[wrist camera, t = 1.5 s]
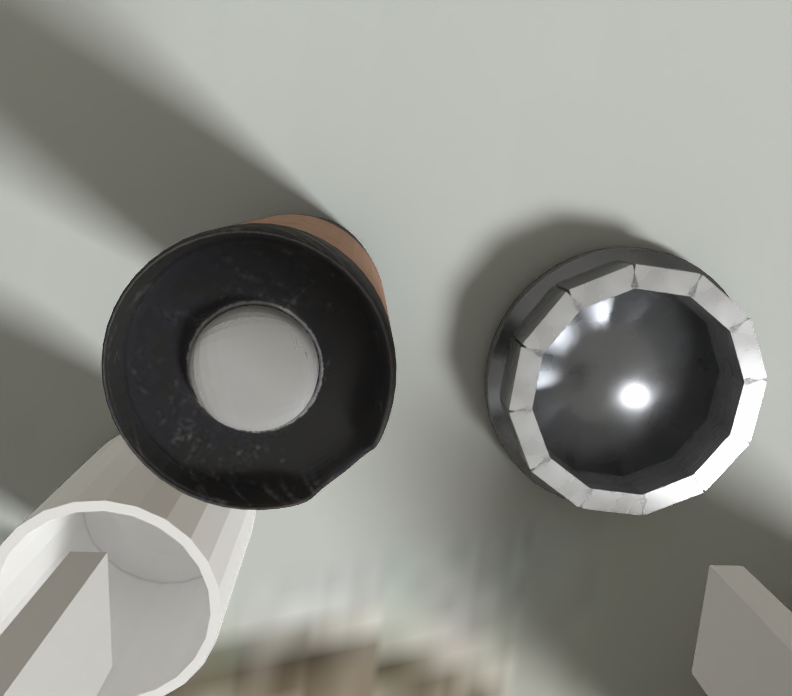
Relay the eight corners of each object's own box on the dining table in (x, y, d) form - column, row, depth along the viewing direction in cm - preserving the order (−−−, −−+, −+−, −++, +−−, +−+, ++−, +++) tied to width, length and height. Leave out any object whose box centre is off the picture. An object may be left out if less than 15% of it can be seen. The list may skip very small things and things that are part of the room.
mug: (140, 387, 37) (59, 455, 27) (290, 482, 39) (266, 579, 29) (26, 556, 39) (-90, 679, 29) (174, 640, 40) (113, 784, 30)
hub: (464, 483, 39) (474, 510, 36) (511, 228, 36) (527, 231, 33) (705, 511, 40) (737, 540, 37) (770, 267, 37) (811, 274, 34)
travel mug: (241, 204, 35) (94, 206, 16) (385, 218, 36) (416, 238, 16) (234, 344, 37) (93, 506, 17) (372, 356, 37) (386, 526, 18)
